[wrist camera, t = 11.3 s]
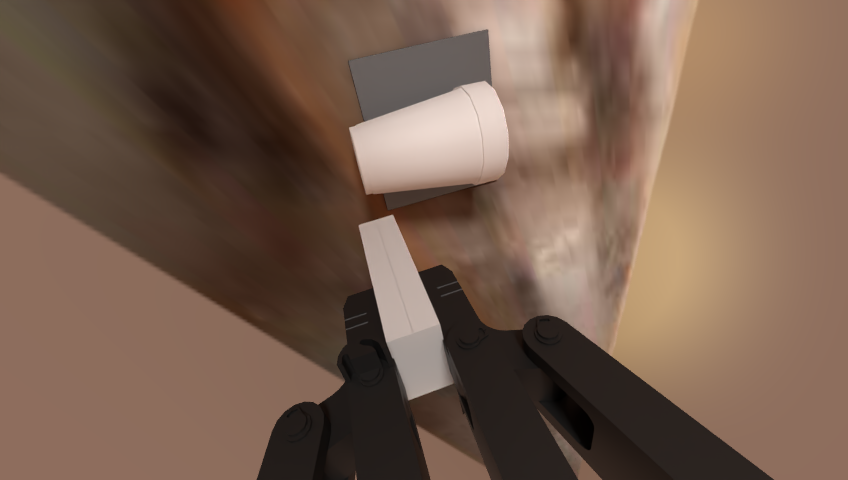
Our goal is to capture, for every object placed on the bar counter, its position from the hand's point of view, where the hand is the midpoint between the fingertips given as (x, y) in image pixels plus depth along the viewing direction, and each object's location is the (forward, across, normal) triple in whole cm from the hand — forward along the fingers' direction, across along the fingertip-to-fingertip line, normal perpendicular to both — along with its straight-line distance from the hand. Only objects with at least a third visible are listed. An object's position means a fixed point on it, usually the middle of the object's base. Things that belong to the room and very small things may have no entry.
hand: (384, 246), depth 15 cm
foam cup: (+20, 0, -3) cm, 20 cm away
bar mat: (+25, +9, -3) cm, 26 cm away
